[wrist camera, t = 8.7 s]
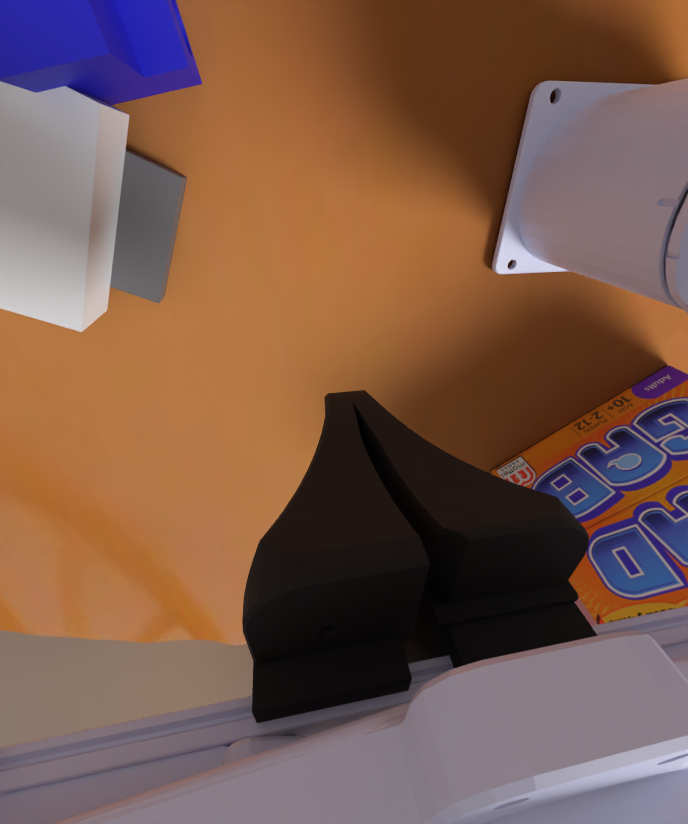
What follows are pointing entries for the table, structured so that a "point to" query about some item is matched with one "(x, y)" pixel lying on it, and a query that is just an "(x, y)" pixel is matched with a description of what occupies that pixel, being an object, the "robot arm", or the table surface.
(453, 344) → the table surface
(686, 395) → the game box
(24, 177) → the shaft rig
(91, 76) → the blue piece
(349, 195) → the table surface
